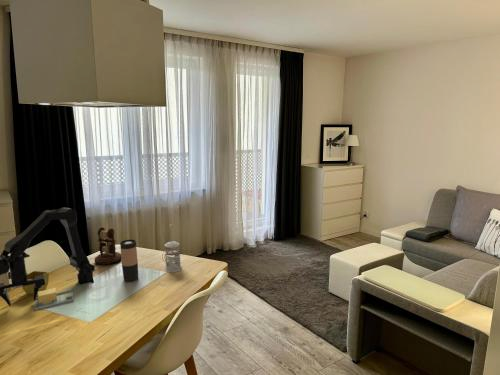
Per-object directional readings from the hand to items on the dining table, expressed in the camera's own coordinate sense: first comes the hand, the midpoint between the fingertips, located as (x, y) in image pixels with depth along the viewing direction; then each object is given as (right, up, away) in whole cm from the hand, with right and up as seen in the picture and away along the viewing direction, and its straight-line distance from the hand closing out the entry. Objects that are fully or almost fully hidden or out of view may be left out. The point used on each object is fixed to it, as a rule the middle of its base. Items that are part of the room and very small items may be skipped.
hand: (22, 303), depth 151 cm
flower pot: (-2, 0, +13) cm, 13 cm away
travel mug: (+38, +3, +26) cm, 47 cm away
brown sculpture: (+17, +7, +51) cm, 54 cm away
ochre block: (+8, 0, +5) cm, 10 cm away
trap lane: (+11, -1, +5) cm, 12 cm away
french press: (+57, +6, +38) cm, 69 cm away
